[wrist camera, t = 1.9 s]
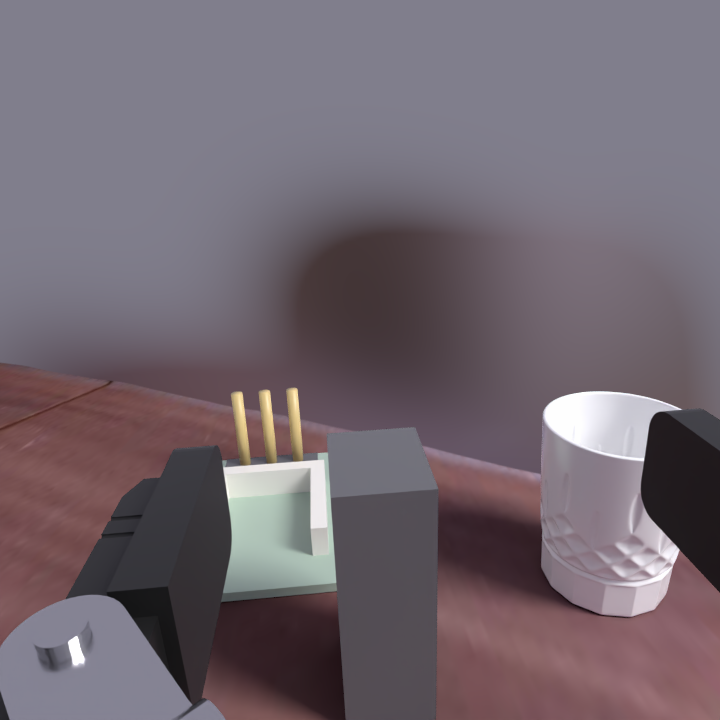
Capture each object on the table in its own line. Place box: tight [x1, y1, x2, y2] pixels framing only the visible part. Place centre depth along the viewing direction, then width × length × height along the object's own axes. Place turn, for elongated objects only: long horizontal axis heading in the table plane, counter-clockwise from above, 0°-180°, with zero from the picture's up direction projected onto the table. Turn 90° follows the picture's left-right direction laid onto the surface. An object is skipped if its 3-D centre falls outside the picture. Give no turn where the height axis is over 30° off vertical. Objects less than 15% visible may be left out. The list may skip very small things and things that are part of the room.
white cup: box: [540, 392, 682, 617], centre depth 31 cm, size 8×8×10 cm
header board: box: [221, 388, 337, 602], centre depth 38 cm, size 15×11×8 cm
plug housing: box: [327, 427, 438, 720], centre depth 25 cm, size 5×4×12 cm
